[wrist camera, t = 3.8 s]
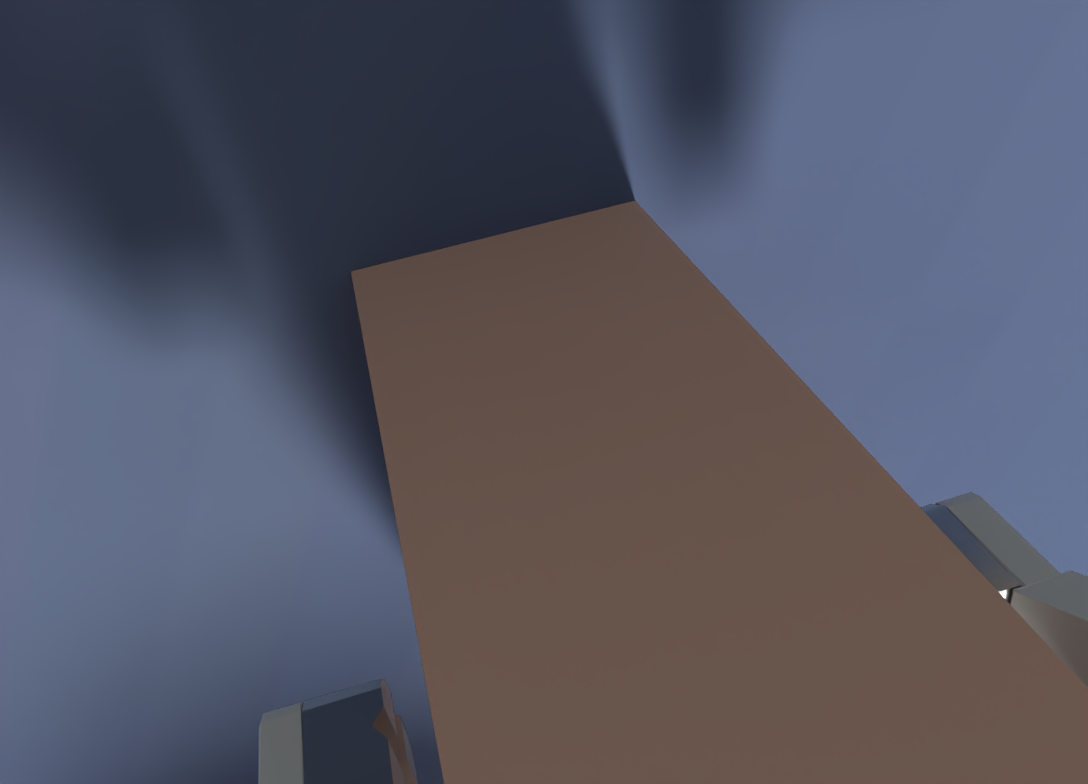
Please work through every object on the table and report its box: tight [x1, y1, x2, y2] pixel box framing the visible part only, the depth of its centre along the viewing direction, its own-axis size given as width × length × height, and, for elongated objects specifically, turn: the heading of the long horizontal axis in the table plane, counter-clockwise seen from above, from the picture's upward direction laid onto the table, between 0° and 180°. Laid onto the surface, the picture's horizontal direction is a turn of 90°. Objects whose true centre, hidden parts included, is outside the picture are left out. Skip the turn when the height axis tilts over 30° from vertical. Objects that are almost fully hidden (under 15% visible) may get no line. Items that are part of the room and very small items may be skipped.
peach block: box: [351, 201, 1088, 784], centre depth 11 cm, size 4×8×12 cm, turn 9°
